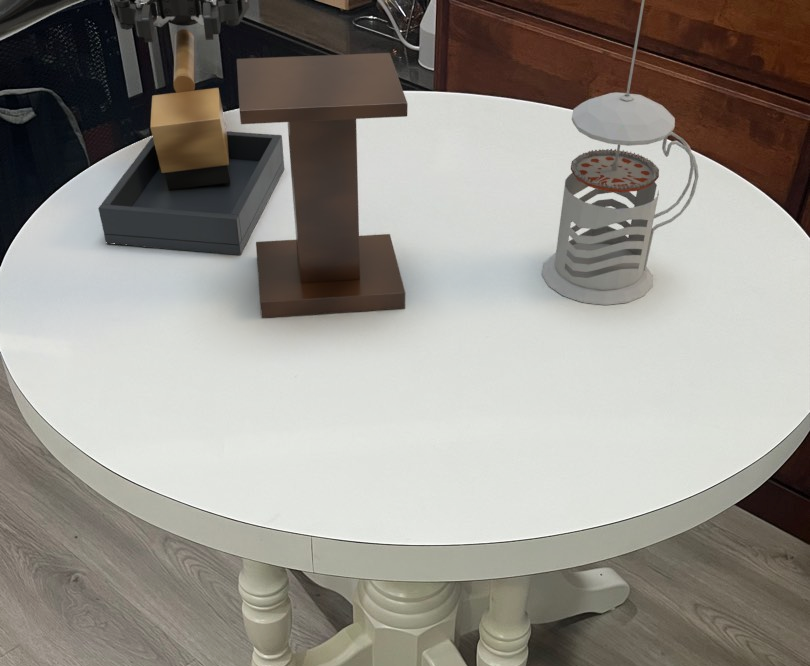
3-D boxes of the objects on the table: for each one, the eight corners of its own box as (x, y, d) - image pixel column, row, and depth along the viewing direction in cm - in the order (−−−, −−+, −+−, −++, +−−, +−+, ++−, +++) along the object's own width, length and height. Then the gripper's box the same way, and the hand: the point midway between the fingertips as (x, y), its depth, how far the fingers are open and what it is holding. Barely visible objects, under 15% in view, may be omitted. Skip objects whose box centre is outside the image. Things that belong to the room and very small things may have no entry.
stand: (261, 318, 82) (239, 110, 70) (257, 256, 89) (236, 58, 77) (405, 308, 83) (407, 102, 71) (389, 248, 90) (389, 52, 78)
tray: (240, 255, 89) (236, 218, 87) (105, 244, 90) (97, 208, 88) (284, 168, 102) (282, 134, 99) (165, 160, 103) (159, 126, 100)
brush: (166, 193, 95) (146, 110, 90) (169, 110, 108) (151, 32, 103) (232, 185, 96) (216, 102, 90) (227, 103, 109) (213, 25, 103)
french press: (536, 246, 91) (572, -64, 73) (662, 247, 91) (729, -62, 73) (547, 304, 84) (589, -23, 66) (683, 305, 84) (762, -20, 66)
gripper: (253, 9, 107) (259, 69, 95) (117, 14, 105) (106, 75, 93) (246, -70, 101) (251, -18, 89) (102, -67, 100) (88, -13, 88)
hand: (177, 29), depth 91 cm, fingers open, 5 cm apart
